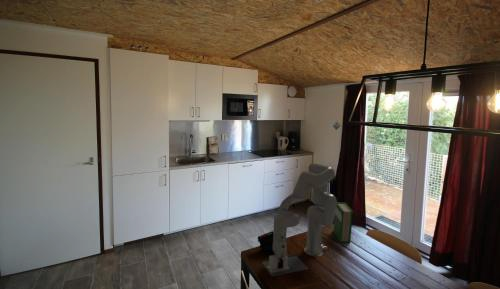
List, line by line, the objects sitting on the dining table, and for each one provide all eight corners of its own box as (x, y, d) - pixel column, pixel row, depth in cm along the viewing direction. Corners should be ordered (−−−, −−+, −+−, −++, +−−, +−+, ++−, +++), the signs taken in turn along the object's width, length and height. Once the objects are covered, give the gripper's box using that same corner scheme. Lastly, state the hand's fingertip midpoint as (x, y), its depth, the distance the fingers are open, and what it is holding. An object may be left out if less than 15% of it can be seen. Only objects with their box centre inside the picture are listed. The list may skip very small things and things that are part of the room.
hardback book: (350, 243, 183) (352, 211, 180) (339, 242, 184) (342, 210, 181) (343, 231, 201) (345, 202, 198) (333, 231, 201) (335, 202, 198)
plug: (292, 260, 155) (293, 251, 154) (296, 265, 151) (297, 255, 150) (268, 265, 150) (269, 255, 149) (272, 269, 146) (272, 260, 145)
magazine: (282, 253, 164) (273, 233, 163) (263, 260, 166) (254, 240, 164) (282, 250, 168) (273, 230, 166) (263, 257, 169) (254, 237, 168)
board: (296, 257, 163) (296, 250, 162) (308, 270, 150) (309, 263, 149) (261, 264, 155) (262, 256, 154) (271, 278, 142) (271, 270, 141)
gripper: (292, 242, 140) (290, 272, 143) (279, 228, 156) (277, 256, 158) (280, 244, 138) (278, 275, 140) (267, 230, 154) (266, 258, 156)
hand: (278, 264), depth 149 cm, fingers closed on plug, 4 cm apart
